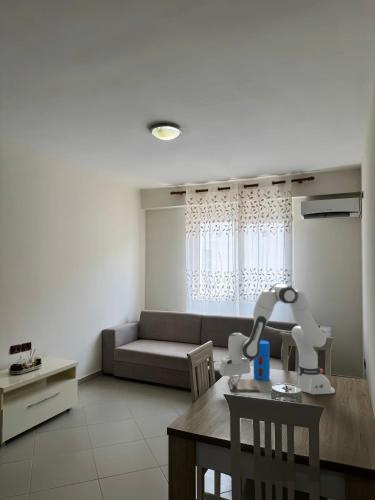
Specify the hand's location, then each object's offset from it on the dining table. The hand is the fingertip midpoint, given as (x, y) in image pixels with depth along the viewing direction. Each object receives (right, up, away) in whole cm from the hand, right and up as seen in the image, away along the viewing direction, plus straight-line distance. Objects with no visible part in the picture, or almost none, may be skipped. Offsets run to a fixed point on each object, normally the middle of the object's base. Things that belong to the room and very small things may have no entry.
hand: (235, 381), depth 217 cm
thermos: (+21, -7, +23) cm, 32 cm away
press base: (+6, -6, +8) cm, 11 cm away
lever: (0, -4, +8) cm, 9 cm away
